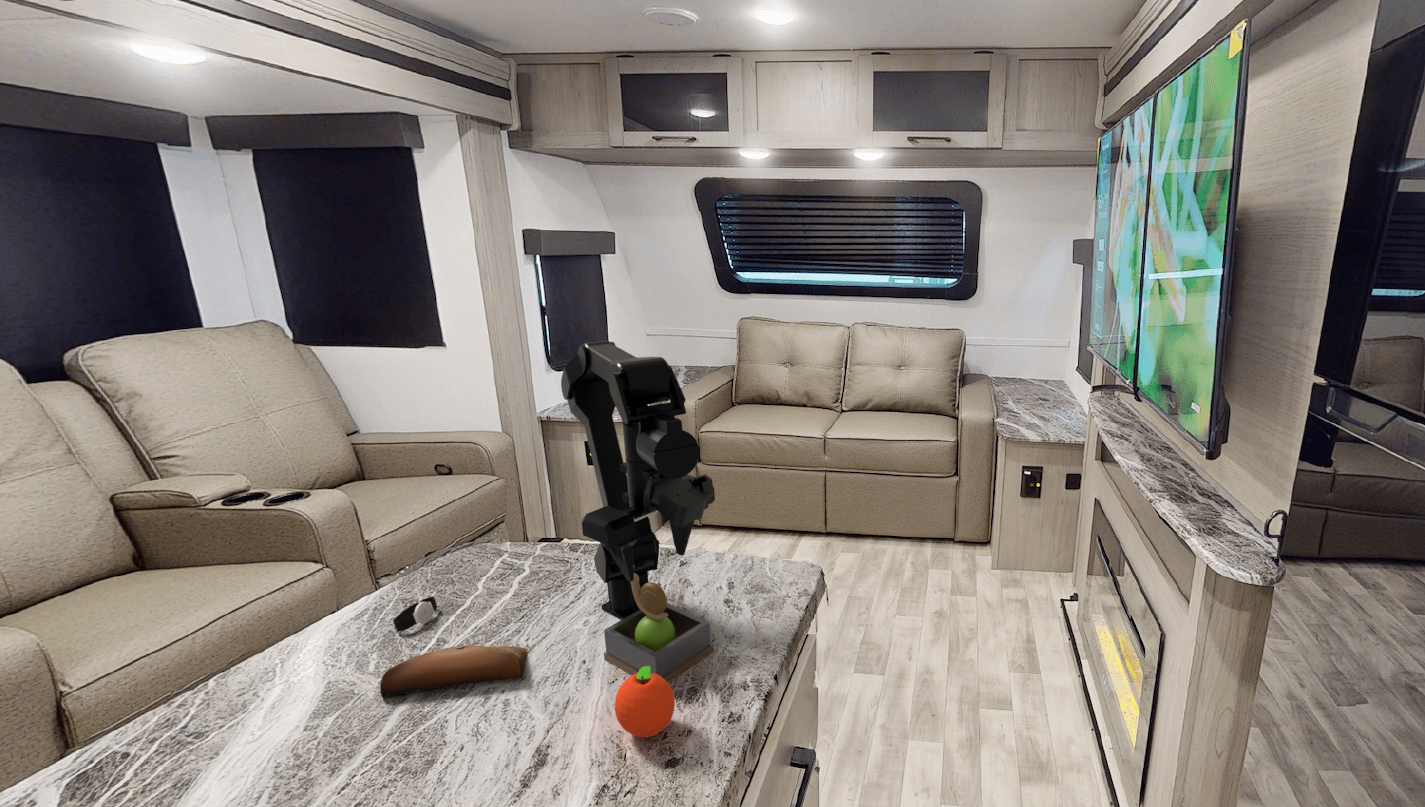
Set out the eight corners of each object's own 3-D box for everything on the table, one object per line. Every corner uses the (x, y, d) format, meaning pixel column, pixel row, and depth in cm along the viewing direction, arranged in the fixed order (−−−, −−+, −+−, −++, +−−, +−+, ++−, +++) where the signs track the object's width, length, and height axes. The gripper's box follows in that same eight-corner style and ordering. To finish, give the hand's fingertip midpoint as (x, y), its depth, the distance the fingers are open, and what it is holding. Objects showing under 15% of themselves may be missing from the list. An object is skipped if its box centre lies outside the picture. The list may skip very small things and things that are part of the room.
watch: (411, 637, 103) (407, 615, 102) (386, 633, 104) (382, 611, 104) (445, 610, 110) (442, 590, 109) (421, 607, 112) (418, 586, 111)
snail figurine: (649, 634, 98) (642, 557, 95) (684, 648, 94) (678, 568, 91) (622, 654, 94) (615, 573, 91) (659, 669, 90) (652, 585, 87)
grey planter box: (604, 659, 94) (601, 630, 93) (660, 625, 102) (658, 598, 101) (657, 690, 87) (654, 658, 86) (713, 651, 95) (711, 622, 94)
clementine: (623, 705, 85) (618, 653, 83) (679, 703, 85) (675, 652, 83) (612, 752, 77) (606, 696, 76) (674, 750, 77) (669, 695, 75)
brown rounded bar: (531, 645, 99) (523, 622, 94) (529, 693, 94) (520, 672, 89) (400, 661, 97) (385, 638, 92) (390, 712, 92) (374, 690, 87)
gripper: (633, 490, 77) (643, 616, 80) (742, 448, 90) (747, 558, 93) (573, 471, 84) (585, 587, 88) (682, 434, 97) (689, 537, 101)
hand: (656, 567), depth 92 cm, fingers open, 9 cm apart
